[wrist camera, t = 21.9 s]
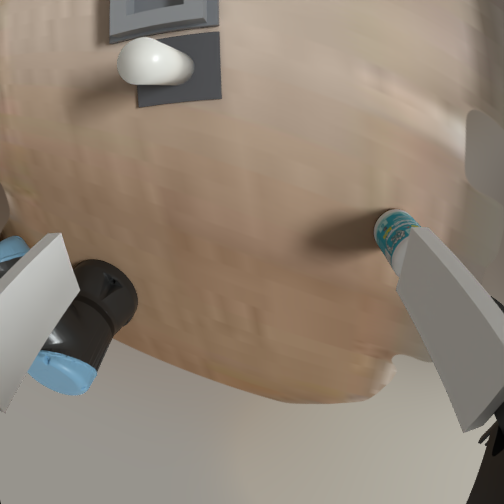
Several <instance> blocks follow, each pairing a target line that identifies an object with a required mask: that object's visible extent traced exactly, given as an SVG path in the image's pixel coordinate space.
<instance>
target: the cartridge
mask: <svg viewBox="0 0 504 504" xmlns="http://www.w3.org/2000/svg"><path fill="white" fill-rule="evenodd" d="M117 69H118V72H119V74H120V76H121V77H122V79H123V80H125V81H126V82H128V83H130V84H135V85H174V86H176V85H181V84H184V83H186V82H187V81H188V80H189V79H190V78H191V77H192V75H193V72H194V62H193V60H192V59H191V57H190V56H189V55H187V54H185V53H183V52H181V51H179V50H177V49H174V48H172V47H170V46H168V45H166V44H164V43H161V42H159V41H157V40H154V39H152V38H148V37H141V38H137V39H134V40H132V41H130V42H129V43H128V44H126V45H125V46H124V48H123V49H122V50H121V52H120V54H119V56H118V60H117Z"/></svg>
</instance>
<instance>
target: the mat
mask: <svg viewBox="0 0 504 504" xmlns="http://www.w3.org/2000/svg"><path fill="white" fill-rule="evenodd" d="M157 41H159V42H161V43H164V44H166V45H168V46H170V47H172V48H174V49H177V50H179V51H181V52H183V53H185V54H187V55H189V56H190V57H191V59H192V60H193V62H194V72H193V75H192V77H191V78H190V79H189V80H188V81H187V82H186V83H184V84H181V85H176V86H174V85H137V89H138V103H139V107H145V106H152V105H159V104H167V103H176V102H185V101H196V100H208V99H222V95H221V69H220V36H219V32H208V33H199V34H190V35H183V36H176V37H169V38H163V39H157Z"/></svg>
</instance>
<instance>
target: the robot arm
mask: <svg viewBox="0 0 504 504" xmlns="http://www.w3.org/2000/svg"><path fill="white" fill-rule="evenodd" d="M396 291H397V293H398V294H399V296H400V298H401V300H402V302H403V304H404V305H405V307H406V309H407V311H408V313H409V315H410V317H411V319H412V320H413V322H414V324H415V326H416V328H417V330H418V332H419V334H420V336H421V338H422V340H423V342H424V344H425V346H426V348H427V350H428V352H429V354H430V356H431V358H432V361H433V363H434V365H435V367H436V369H437V371H438V373H439V376H440V378H441V380H442V382H443V385H444V387H445V389H446V392H447V394H448V396H449V398H450V401H451V403H452V406H453V408H454V411H455V413H456V416H457V418H458V421H459V423H460V426H461V428H462V431H463V433H464V432H467V431H470V430H473V429H475V428H478V427H481V426H483V425H484V424H485V423H486V422H487V421H488V419H489V418H490V417H491V416H492V415H493V414H495V417H496V419H497V421H496V422H495V423H494V424H493V425H492V426H491V427H490V428H489V429H488V431H486V433H484V434H483V436H482V437H481V438H480V440H479V442H478V443H480V444H481V443H482V442H483V441H484V440H485V439H486V438H487V437H488V436H489V435H490V436H489V440H488V441H487V443H486V444H485V446H487V447H486V450H485V454H484V457H483V460H482V463H481V466H480V469H479V472H478V475H477V478H476V480H475V483H474V486H473V488H472V491H471V493H470V496H469V499H468V501H467V503H466V504H504V306H503V305H502V304H501V303H500V302H498V301H497V300H496V299H494V298H493V297H492V296H490V295H489V294H488V293H487V292H486V290H485V289H484V288H483V287H482V286H481V284H480V283H479V282H478V281H477V280H476V278H475V277H474V276H473V275H472V274H471V273H470V271H469V270H468V269H467V268H466V267H465V266H464V265H463V264H462V262H461V261H460V260H459V259H458V258H457V257H456V256H455V255H454V254H453V253H452V252H451V250H450V249H449V248H448V247H447V246H446V245H445V244H444V243H443V242H442V241H441V240H440V239H439V238H438V237H437V236H436V235H435V234H434V233H433V232H432V231H431V230H430V229H429V228H428V227H411V229H410V234H409V239H408V244H407V248H406V252H405V257H404V261H403V265H402V269H401V273H400V277H399V280H398V284H397V288H396ZM137 305H138V298H137V293H136V291H135V288H134V286H133V284H132V283H131V281H130V280H129V279H128V278H127V276H126V275H125V274H124V273H123V272H121V271H120V270H119V269H118V268H116V267H114V266H113V265H111V264H109V263H106V262H104V261H100V260H86V261H83V262H81V263H80V264H78V265H77V266H76V267H75V269H74V270H73V269H72V266H71V263H70V260H69V257H68V253H67V250H66V247H65V244H64V240H63V237H62V234H61V233H49V234H47V235H46V236H44V237H43V238H42V239H41V240H40V241H39V242H38V243H37V244H36V245H34V246H33V247H32V248H31V249H30V248H29V247H28V245H27V244H26V243H25V241H24V240H23V239H22V238H21V237H19V236H11V237H8V238H6V239H4V240H2V241H1V242H0V411H2V412H4V413H5V412H6V410H7V408H8V407H9V405H10V402H11V401H12V399H13V397H14V395H15V393H16V391H17V389H18V388H19V386H20V384H21V382H22V380H23V379H24V377H25V375H26V373H27V372H28V373H29V374H30V375H31V376H32V377H33V378H34V379H35V380H37V381H38V382H39V383H41V384H42V385H44V386H46V387H47V388H49V389H52V390H54V391H56V392H59V393H62V394H66V395H80V394H83V393H85V392H86V391H87V390H88V389H89V387H90V385H91V384H92V382H93V380H94V378H95V377H96V376H97V371H98V369H99V367H100V365H101V362H102V360H103V358H104V356H105V353H106V351H107V348H108V347H109V344H110V342H111V340H112V338H113V336H114V335H115V334H116V333H117V332H118V331H119V330H120V329H121V328H122V327H123V326H125V325H126V324H127V323H129V322H130V320H131V319H132V317H133V316H134V313H135V311H136V309H137ZM0 504H1V502H0Z"/></svg>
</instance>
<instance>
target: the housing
mask: <svg viewBox="0 0 504 504" xmlns="http://www.w3.org/2000/svg"><path fill="white" fill-rule="evenodd" d="M215 26H219V0H110V44H115V43H119V42H123V41H127V40H131V39H136V38H140V37H145V36H150V35H156V34H161V33H167V32H173V31H180V30H187V29H195V28H204V27H215Z"/></svg>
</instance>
